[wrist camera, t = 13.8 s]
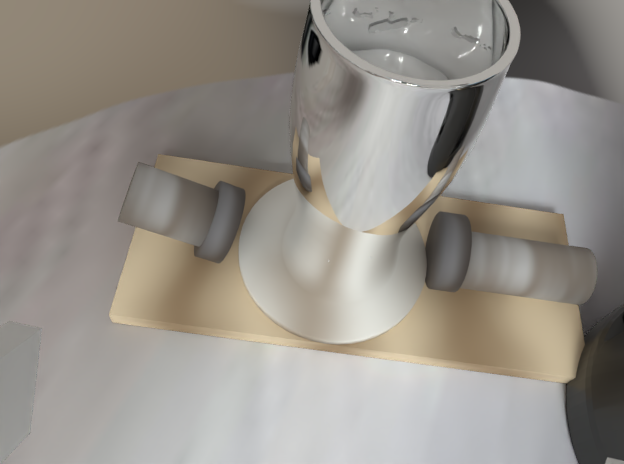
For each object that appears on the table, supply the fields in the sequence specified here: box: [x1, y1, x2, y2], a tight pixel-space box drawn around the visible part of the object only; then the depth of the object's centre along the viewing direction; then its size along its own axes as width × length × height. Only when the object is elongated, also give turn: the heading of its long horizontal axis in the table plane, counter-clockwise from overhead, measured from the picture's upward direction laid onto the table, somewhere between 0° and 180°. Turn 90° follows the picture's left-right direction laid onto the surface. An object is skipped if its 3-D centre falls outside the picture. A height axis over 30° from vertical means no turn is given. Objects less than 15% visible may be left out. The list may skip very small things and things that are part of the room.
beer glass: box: [282, 0, 520, 303], centre depth 24 cm, size 7×7×15 cm
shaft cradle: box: [109, 154, 597, 384], centre depth 29 cm, size 24×10×6 cm, turn 84°
